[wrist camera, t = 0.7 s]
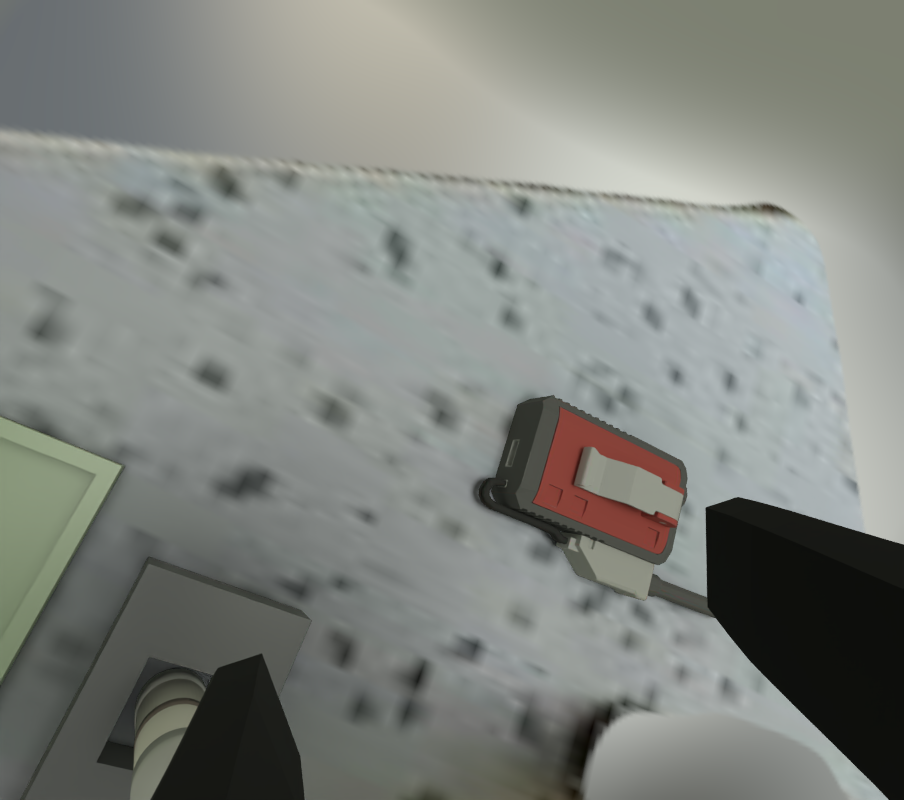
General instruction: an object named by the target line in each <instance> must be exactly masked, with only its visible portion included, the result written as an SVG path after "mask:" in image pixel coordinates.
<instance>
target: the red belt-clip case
mask: <svg viewBox="0 0 904 800" xmlns="http://www.w3.org/2000/svg"><path fill="white" fill-rule="evenodd" d="M687 479H688V478H687V472H686V467H685V466H684V464H683V462H682V461H681V460H679V459H677V458H675V457H673V456H671V455H669V454H667V453H665V452H663V451H661V450H659V449H657V448H656V447H654V446H652V445H650V444H648V443H646V442H644V441H642V440H640V439H638V438H636V437H634V436H632V435H627V433H626V432H621V431H620V429H618V428H614V427H613V426H612V425H608V424H606V422H605V421H600V420H599V418H597V417H596V418H594V417H592V415H591V414H586V413H585V412H584V411H583V410H578V409H577V407H575V406H573V407H572V406H570V404H569V403H565V402H563V401H562V399H557V398H555V396H554V395H553V396H547V397H541V398H535V399H529V400H527V401H525V402H523V403H520V404H518V405H517V408H516V412H515V415H514V418H513V422H512V425H511V428H510V431H509V435H508V438H507V441H506V444H505V448H504V451H503V454H502V457H501V461H500V464H499V467H498V471H497V474H496V477H495V478H488V479H486V480H484V481H483V483H482V485H481V486H480V488H479V497H480V500H481V502H482V503H483V504H484V505H486V506H487V507H488V508H489V509H492V510H494V511H497V512H500V513H502V514H505V515H507V516H510V517H512V518H515V519H517V520H520V521H522V522H525V523H528V524H530V525H533V526H535V527H537V528H540V529H542V530H544V531H546V532H548V533H549V534H550V535H551V537H552V538H553V539H554V540H555V541H557V544H556V546H558V547H560V548H562V550H563V552H564V553H565V555H566V557H567V559H568V561H569V562H570V564H571V566H572V568H573V570H574V571H575V573H576V574H577V575H578V576H581V577H584V578H586V579H589V580H592V581H594V582H597V583H600V584H602V585H605V586H608V587H610V588H613V589H614V590H615V592H617V593H619V594H622V595H625V596H629V597H633V598H636V599H640V600H643V601H645V600H646V599H647V595H648V596H658V597H661V598H663V599H666V600H669V601H671V602H674V603H677V604H679V605H682V606H684V607H687V608H690V609H692V610H695V611H698V612H700V613H703V614H706V615H708V616H711V617H714V618H715V616H714V615H713V614H712V612H711V611H710V610H709V608H708V607H707V598H706V597H704V596H701V595H699V594H696V593H693V592H691V591H688V590H686V589H683V588H680V587H678V586H675V585H673V584H670V583H668V582H665V581H662V580H660V578H659V577H658V576H657V575H655V574H652V573H653V569H654V564H656V565H660V564H662V563H664V562H665V561H666V560H667V558H668V557H669V555H670V553H671V551H672V547H673V543H674V538H675V534H676V529H677V525H678V520H679V515H680V511H681V507H682V506H683V505H684V503H685V501H686V498H687V488H686V484H687ZM492 486H493V487H492ZM491 488H492V490H491ZM490 490H491V492H492V494H493V497H494V499H495V501H496V502H495V501H493V500H492V499H491V497H490V495H489V491H490ZM560 531H564V532H560Z"/></svg>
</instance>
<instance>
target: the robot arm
mask: <svg viewBox="0 0 904 800" xmlns="http://www.w3.org/2000/svg"><path fill="white" fill-rule="evenodd" d="M706 553H707V607H708V608H709V610H710V611H711V612H712V614H713V615H714V616H715V618H716V619H717V620H718V622H719V623H720V624H721V625H722V627H723V628H724V629H725V631H726V632H727V633H728V635H729V636H730V637H731V638H732V640H733V641H734V642H735V643H736V644H737V646H738V647H739V648H740V649H741V651H742V652H743V653H744V654H745V655H746V657H747V658H748V659H749V660H750V661H751V662H752V663H753V664H754V665H755V667H756V668H757V669H758V670H759V671H760V672H761V673H762V674H763V675H764V676H765V677H766V678H767V679H768V680H769V681H770V682H771V683H772V684H773V685H774V686H775V687H776V688H777V689H778V690H779V691H780V692H781V693H782V694H783V695H784V696H785V697H786V698H787V699H788V700H789V701H790V702H791V703H792V704H793V705H794V706H795V707H796V708H797V709H798V710H799V711H800V712H801V713H802V714H803V715H804V716H805V717H806V718H807V719H808V720H809V721H810V722H811V723H812V724H813V725H815V726H816V727H817V728H818V729H819V730H820V731H821V732H822V733H823V734H824V735H825V736H826V737H827V738H828V739H829V740H830V741H831V742H832V743H833V744H834V745H835V746H836V747H837V748H838V749H839V750H840V751H841V752H842V753H843V754H844V755H845V756H846V757H847V758H848V759H849V760H850V761H851V762H852V763H853V764H854V765H855V766H856V767H857V768H858V769H859V770H860V771H861V772H862V773H863V774H864V775H865V776H866V777H867V778H868V779H869V780H870V781H871V782H872V783H873V784H874V785H875V786H876V787H877V788H878V789H879V790H880V791H881V792H882V793H883V794H884V795H885V796H886V797H887V798H888V799H889V800H904V545H903V544H899V543H895V542H892V541H889V540H886V539H882V538H879V537H875V536H872V535H869V534H865V533H862V532H859V531H855V530H852V529H849V528H845V527H842V526H839V525H835V524H832V523H829V522H825V521H822V520H819V519H816V518H812V517H809V516H806V515H802V514H799V513H796V512H792V511H789V510H785V509H782V508H778V507H775V506H771V505H768V504H764V503H760V502H756V501H752V500H748V499H744V498H739V497H736V498H733V499H730V500H727V501H724V502H721V503H718V504H715V505H712V506H709V507H706ZM150 800H305V798H304V789H303V779H302V769H301V760H300V755H299V752H298V749H297V746H296V744H295V741H294V738H293V736H292V733H291V730H290V727H289V725H288V722H287V719H286V717H285V714H284V711H283V709H282V706H281V703H280V700H279V698H278V695H277V692H276V690H275V687H274V684H273V681H272V679H271V676H270V673H269V671H268V668H267V665H266V663H265V660H264V657H263V654H262V653H261V654H258V655H255V656H252V657H249V658H246V659H243V660H240V661H237V662H234V663H231V664H228V665H225V666H222V667H219V668H217V670H216V671H215V673H214V675H213V676H212V678H211V680H210V682H209V684H208V686H207V688H206V690H205V692H204V694H203V697H202V699H201V701H200V703H199V705H198V707H197V709H196V711H195V713H194V715H193V717H192V719H191V721H190V723H189V725H188V727H187V729H186V731H185V733H184V736H183V737H182V739H181V741H180V743H179V745H178V747H177V749H176V751H175V753H174V755H173V757H172V759H171V761H170V763H169V765H168V767H167V769H166V771H165V773H164V775H163V777H162V779H161V781H160V782H159V784H158V786H157V788H156V790H155V792H154V794H153V796H152V797H151V799H150Z"/></svg>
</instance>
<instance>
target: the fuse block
mask: <svg viewBox="0 0 904 800" xmlns="http://www.w3.org/2000/svg"><path fill="white" fill-rule="evenodd" d="M311 621H312V620H311V619H310V618H308V617H307V616H306V615H305V614H304V613H303V612H302V611H301V610H298V609H296V608H293V607H290V606H287V605H284V604H281V603H279V602H276V601H273V600H270V599H267V598H264V597H262V596H259V595H256V594H253V593H250V592H247V591H245V590H242V589H239V588H236V587H233V586H230V585H227V584H225V583H222V582H219V581H216V580H213V579H210V578H208V577H205V576H202V575H199V574H196V573H193V572H191V571H188V570H185V569H182V568H179V567H176V566H174V565H171V564H168V563H165V562H162V561H159V560H157V559H154V558H151V557H148V559H147V561H146V562H145V564H144V566H143V568H142V570H141V572H140V574H139V576H138V578H137V579H136V581H135V583H134V585H133V587H132V589H131V591H130V593H129V595H128V597H127V598H126V600H125V602H124V604H123V606H122V608H121V610H120V612H119V614H118V615H117V617H116V619H115V621H114V623H113V625H112V627H111V629H110V631H109V633H108V634H107V636H106V638H105V640H104V642H103V644H102V646H101V648H100V650H99V651H98V653H97V655H96V657H95V659H94V661H93V663H92V665H91V667H90V669H89V670H88V672H87V674H86V676H85V678H84V680H83V682H82V684H81V686H80V687H79V689H78V691H77V693H76V695H75V697H74V699H73V701H72V703H71V704H70V706H69V708H68V710H67V712H66V714H65V716H64V718H63V720H62V722H61V723H60V725H59V727H58V729H57V731H56V733H55V735H54V737H53V739H52V740H51V742H50V744H49V746H48V748H47V750H46V752H45V754H44V756H43V758H42V759H41V761H40V763H39V765H38V767H37V769H36V771H35V773H34V775H33V776H32V778H31V780H30V782H29V784H28V786H27V788H26V790H25V792H24V793H23V795H22V797H21V799H20V800H130V792H131V778H132V773H133V768H134V748H133V747H129V746H124V745H120V744H116V743H111V742H107V740H108V738H109V736H110V734H111V732H112V730H113V728H114V726H115V724H116V722H117V720H118V718H119V716H120V714H121V712H122V710H123V708H124V706H125V704H126V702H127V700H128V698H129V696H130V694H131V692H132V690H133V688H134V686H135V684H136V682H137V680H138V678H139V676H140V674H141V672H142V670H143V668H144V666H145V664H146V662H147V660H148V658H149V657H151V658H155V659H158V660H162V661H165V662H169V663H172V664H176V665H179V666H182V667H186V668H189V669H193V670H196V671H200V672H203V673H206V674H210V675H214V673H215V671H216V670H217V668H219V667H222V666H225V665H228V664H231V663H234V662H237V661H240V660H243V659H246V658H249V657H252V656H255V655H258V654H261V653H262V654H263V657H264V660H265V663H266V665H267V668H268V671H269V673H270V676H271V679H272V681H273V684H274V687H275V690H276V692H277V695H278V697H279V695H280V693H281V690H282V688H283V686H284V683H285V681H286V679H287V676H288V674H289V672H290V670H291V667H292V665H293V663H294V660H295V658H296V656H297V653H298V651H299V649H300V646H301V644H302V642H303V640H304V637H305V635H306V633H307V630H308V628H309V626H310V623H311Z"/></svg>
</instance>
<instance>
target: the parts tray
mask: <svg viewBox="0 0 904 800" xmlns="http://www.w3.org/2000/svg"><path fill="white" fill-rule="evenodd" d="M124 467H125V466H124V465H122V464H119V463H117V462H114V461H112V460H109V459H107V458H104V457H102V456H99V455H97V454H94V453H92V452H89V451H87V450H84V449H82V448H79V447H77V446H74V445H72V444H69V443H67V442H65V441H62V440H60V439H57V438H55V437H52V436H50V435H47V434H45V433H42V432H40V431H37V430H35V429H32V428H30V427H27V426H25V425H22V424H20V423H17V422H15V421H12V420H10V419H7V418H5V417H2V416H0V686H1V684H2V682H3V681H4V679H5V677H6V675H7V674H8V672H9V670H10V668H11V667H12V665H13V663H14V661H15V659H16V658H17V656H18V654H19V652H20V651H21V649H22V647H23V645H24V644H25V642H26V640H27V638H28V636H29V635H30V633H31V631H32V629H33V628H34V626H35V624H36V622H37V621H38V619H39V617H40V615H41V613H42V612H43V610H44V608H45V606H46V605H47V603H48V601H49V599H50V598H51V596H52V594H53V592H54V590H55V589H56V587H57V585H58V583H59V582H60V580H61V578H62V576H63V575H64V573H65V571H66V569H67V567H68V566H69V564H70V562H71V560H72V559H73V557H74V555H75V553H76V552H77V550H78V548H79V546H80V544H81V543H82V541H83V539H84V537H85V536H86V534H87V532H88V530H89V529H90V527H91V525H92V523H93V521H94V520H95V518H96V516H97V514H98V513H99V511H100V509H101V507H102V506H103V504H104V502H105V500H106V498H107V497H108V495H109V493H110V491H111V490H112V488H113V486H114V484H115V483H116V481H117V479H118V477H119V475H120V474H121V472H122V470H123V468H124Z"/></svg>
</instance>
